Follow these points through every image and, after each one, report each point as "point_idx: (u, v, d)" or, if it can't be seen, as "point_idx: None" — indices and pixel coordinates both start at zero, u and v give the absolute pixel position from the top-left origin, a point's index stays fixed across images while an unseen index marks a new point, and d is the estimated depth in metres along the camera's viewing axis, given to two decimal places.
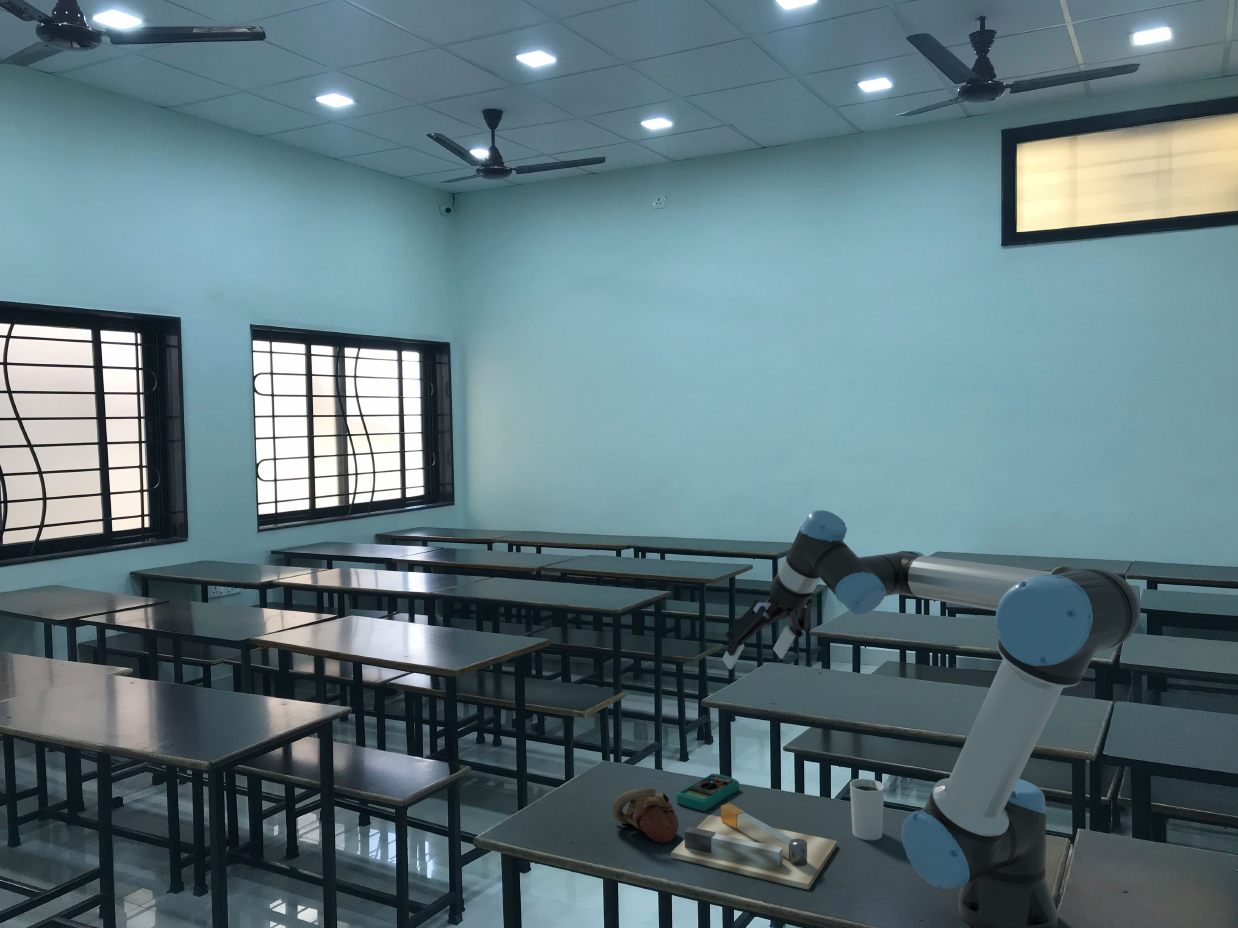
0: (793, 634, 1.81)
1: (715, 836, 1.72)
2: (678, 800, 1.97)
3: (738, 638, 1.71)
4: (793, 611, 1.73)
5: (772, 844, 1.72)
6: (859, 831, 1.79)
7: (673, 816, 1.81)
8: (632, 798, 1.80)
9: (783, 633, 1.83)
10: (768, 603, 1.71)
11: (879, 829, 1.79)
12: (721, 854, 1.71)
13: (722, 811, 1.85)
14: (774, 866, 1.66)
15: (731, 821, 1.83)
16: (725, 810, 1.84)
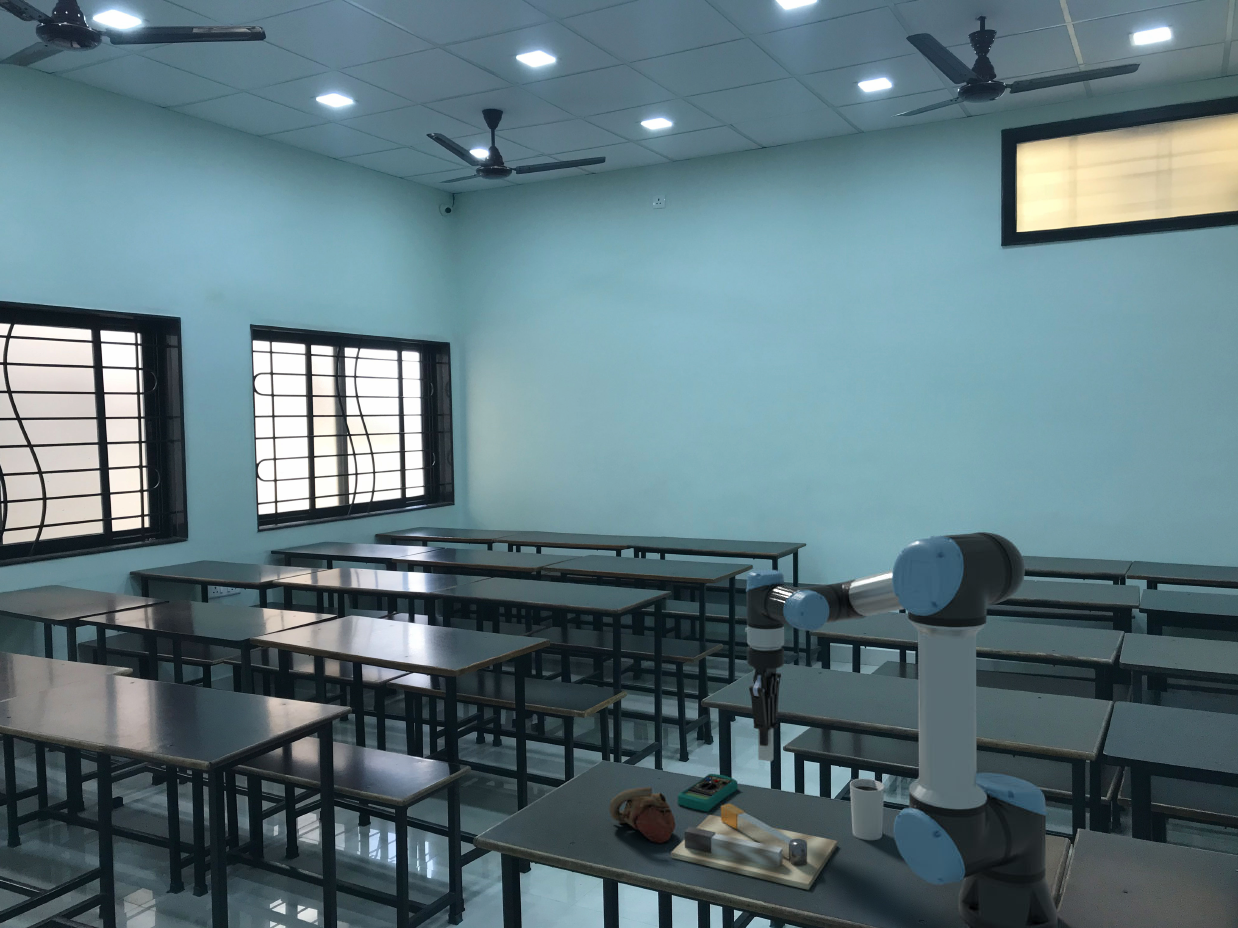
0: (770, 728, 1.84)
1: (715, 836, 1.72)
2: (679, 801, 1.97)
3: (765, 721, 1.81)
4: (777, 676, 1.84)
5: (772, 844, 1.72)
6: (859, 831, 1.79)
7: (670, 816, 1.81)
8: (629, 798, 1.81)
9: None
10: (758, 679, 1.80)
11: (879, 829, 1.79)
12: (721, 854, 1.71)
13: (722, 811, 1.85)
14: (774, 866, 1.66)
15: (731, 821, 1.83)
16: (725, 810, 1.84)
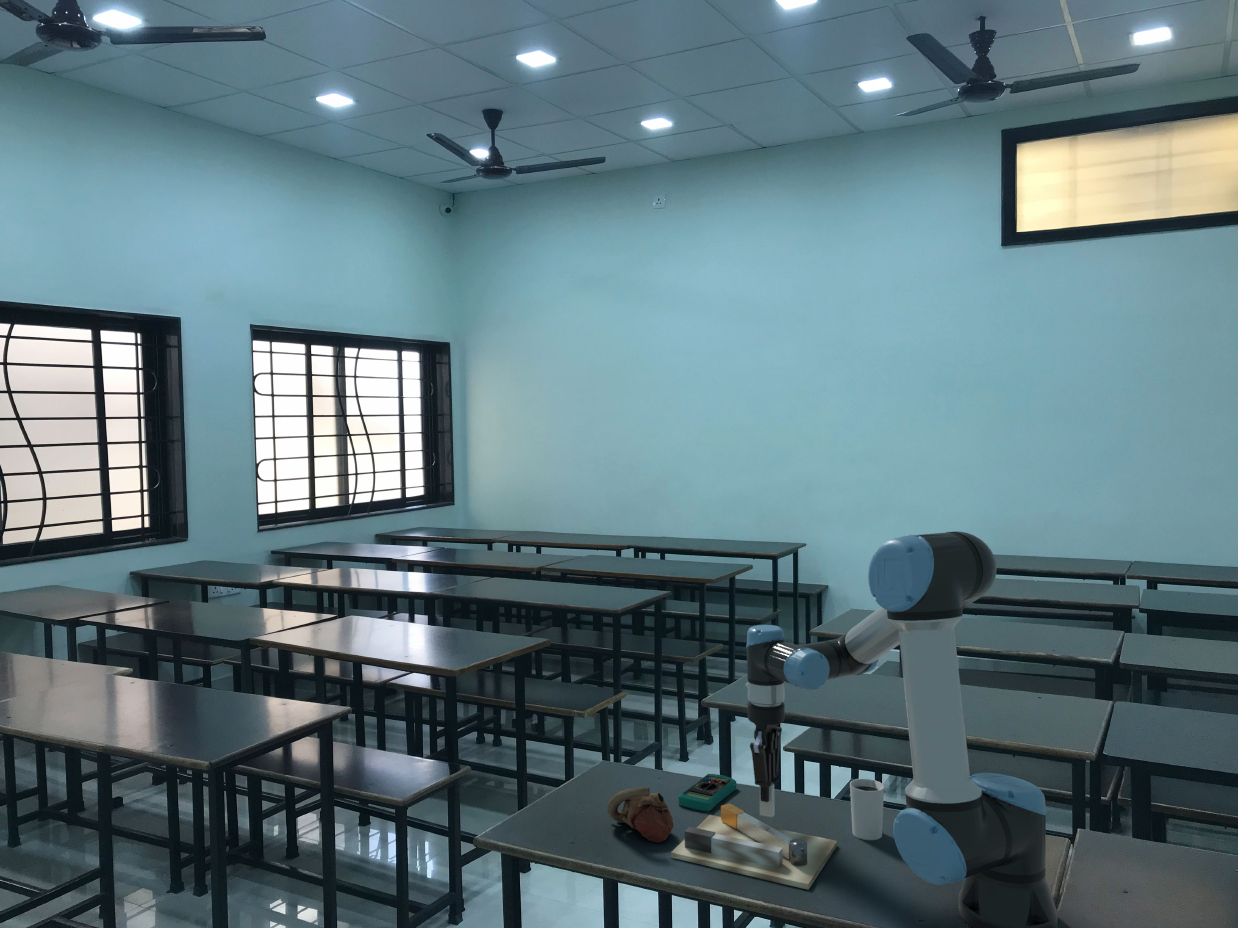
0: (771, 783, 1.84)
1: (715, 836, 1.72)
2: (680, 802, 1.96)
3: (766, 778, 1.81)
4: (777, 731, 1.85)
5: (772, 844, 1.72)
6: (859, 831, 1.79)
7: (668, 816, 1.81)
8: (627, 797, 1.81)
9: None
10: (758, 736, 1.81)
11: (879, 829, 1.79)
12: (721, 854, 1.71)
13: (722, 811, 1.85)
14: (774, 866, 1.66)
15: (731, 821, 1.83)
16: (725, 810, 1.84)
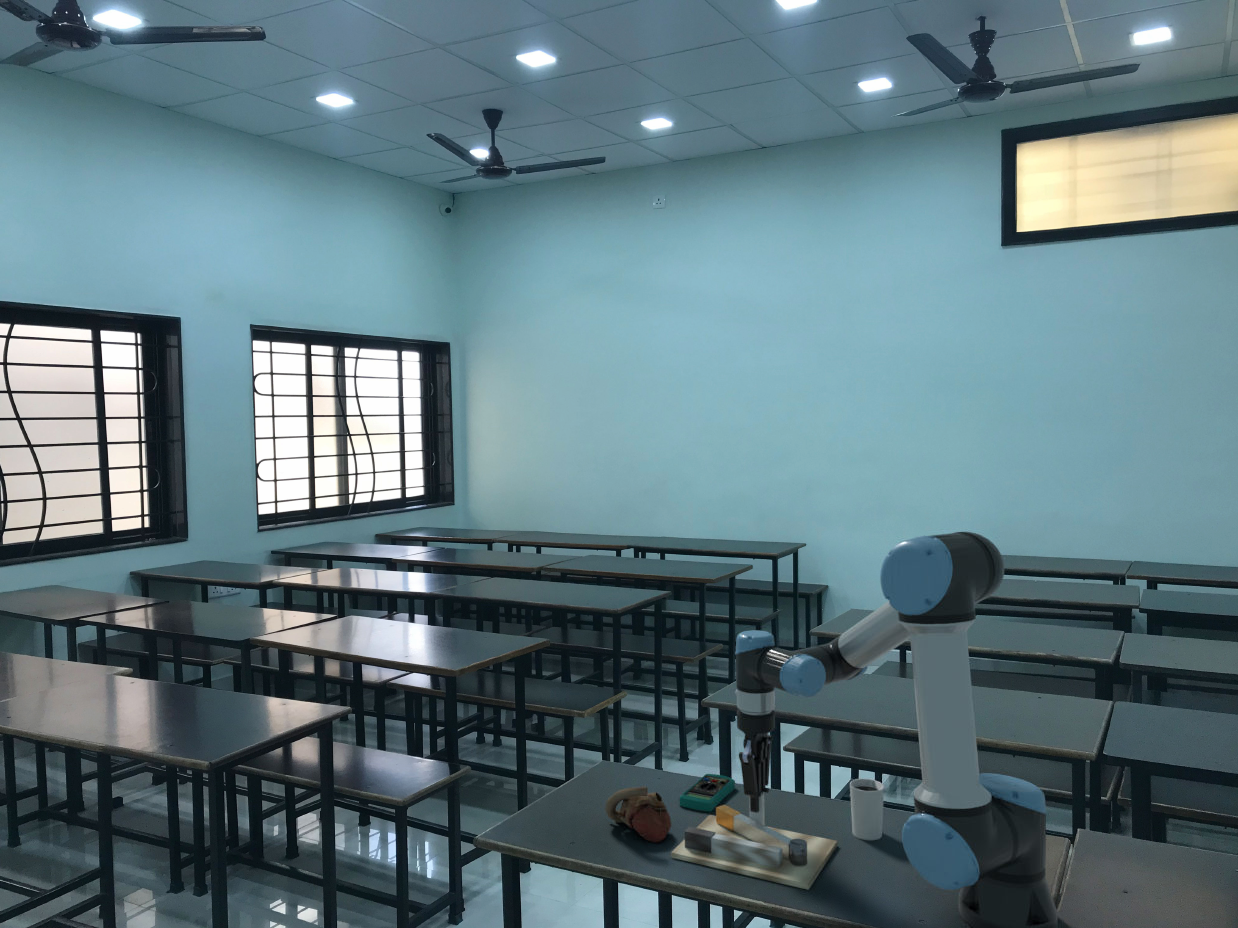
0: (761, 793, 1.79)
1: (715, 836, 1.72)
2: (681, 803, 1.96)
3: (756, 788, 1.76)
4: (767, 740, 1.79)
5: None
6: (859, 831, 1.79)
7: (665, 815, 1.81)
8: (624, 797, 1.81)
9: None
10: (747, 745, 1.75)
11: (879, 829, 1.79)
12: (721, 854, 1.71)
13: (717, 813, 1.84)
14: (774, 866, 1.66)
15: (727, 823, 1.82)
16: (720, 812, 1.83)
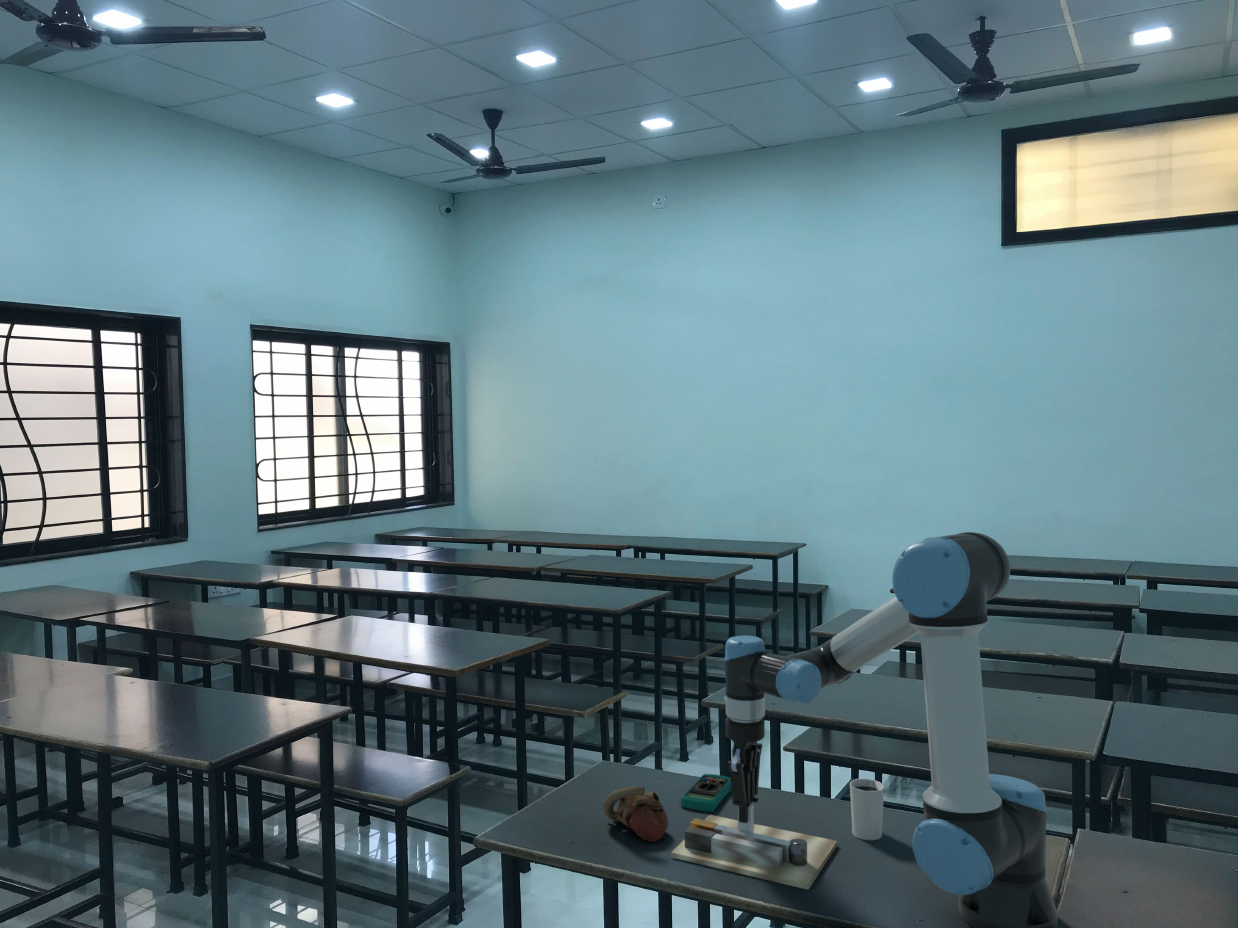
0: (750, 803, 1.74)
1: (715, 836, 1.72)
2: (683, 804, 1.95)
3: (745, 798, 1.71)
4: (757, 748, 1.74)
5: None
6: (859, 831, 1.79)
7: (663, 815, 1.82)
8: (622, 796, 1.81)
9: None
10: (736, 753, 1.70)
11: (879, 829, 1.79)
12: (721, 854, 1.71)
13: None
14: (774, 866, 1.66)
15: None
16: (696, 826, 1.77)
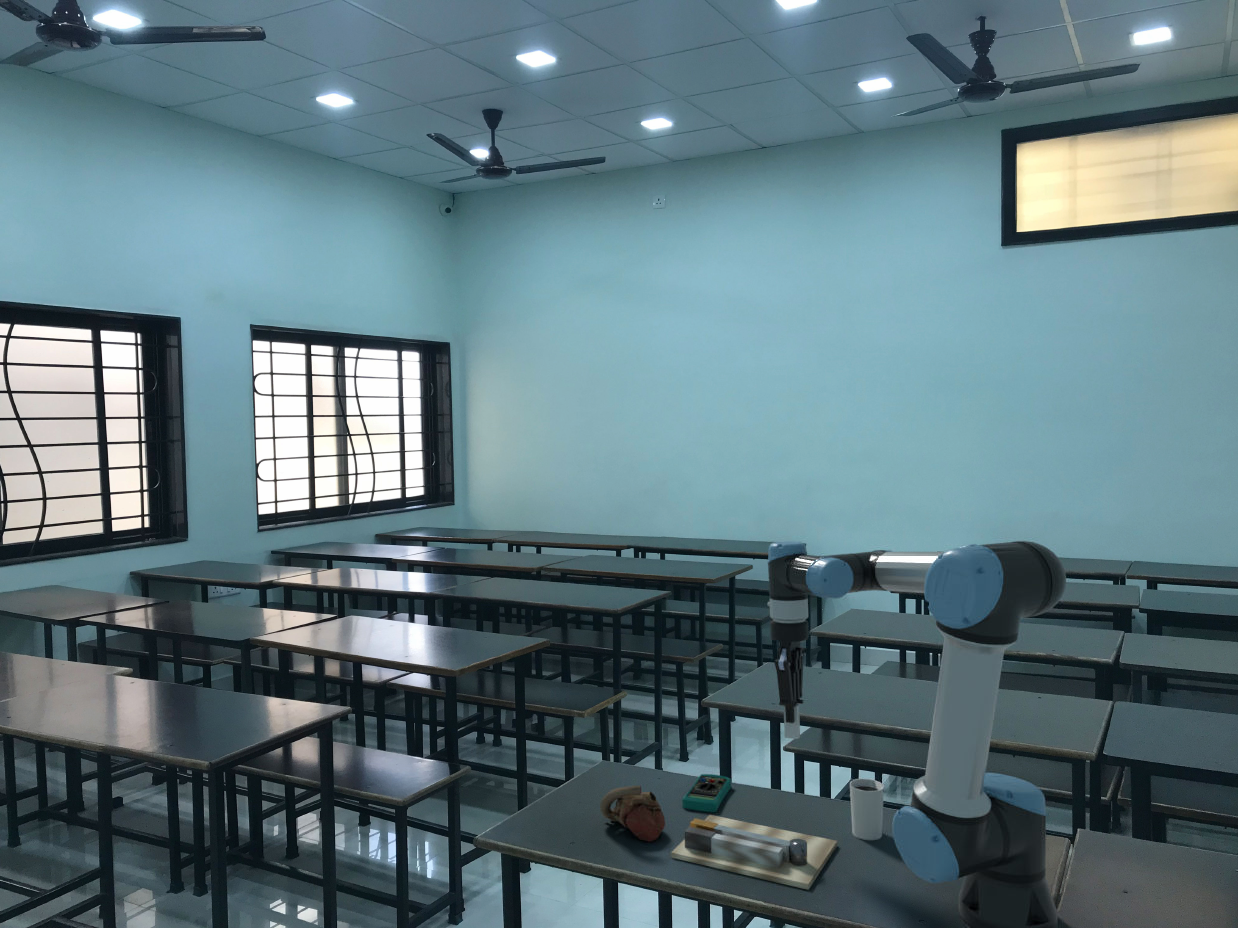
0: (796, 704, 1.79)
1: (715, 836, 1.72)
2: (684, 804, 1.95)
3: (792, 697, 1.75)
4: (801, 650, 1.79)
5: None
6: (859, 831, 1.79)
7: (659, 815, 1.82)
8: (618, 796, 1.82)
9: None
10: (783, 653, 1.75)
11: (879, 829, 1.79)
12: (721, 854, 1.71)
13: None
14: (774, 866, 1.66)
15: None
16: (696, 826, 1.77)
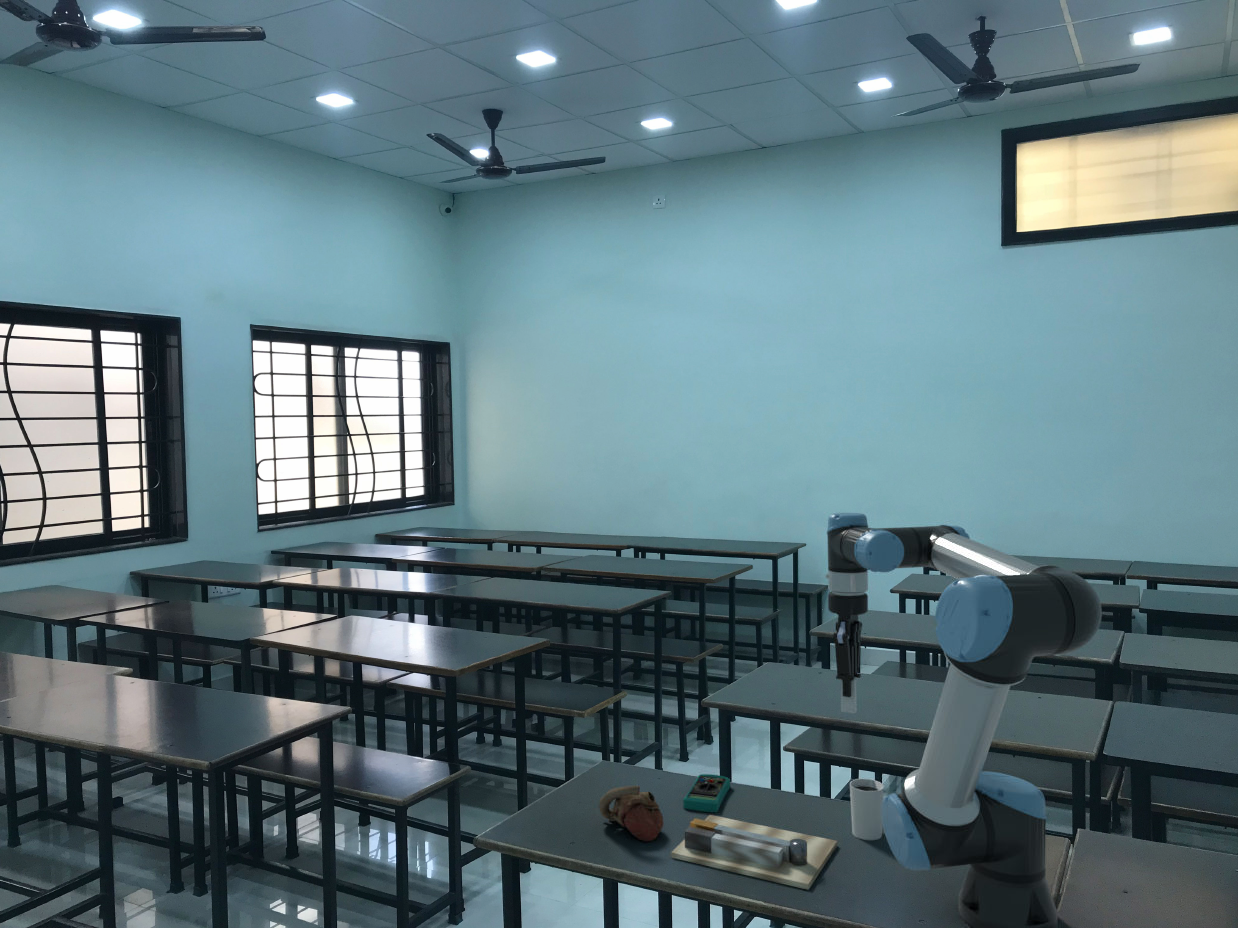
0: (853, 678, 1.76)
1: (715, 836, 1.72)
2: (685, 805, 1.94)
3: (850, 670, 1.72)
4: (859, 623, 1.76)
5: None
6: (859, 831, 1.79)
7: (658, 815, 1.82)
8: (617, 796, 1.82)
9: None
10: (841, 626, 1.72)
11: (879, 829, 1.79)
12: (721, 854, 1.71)
13: None
14: (774, 866, 1.66)
15: None
16: (696, 826, 1.77)
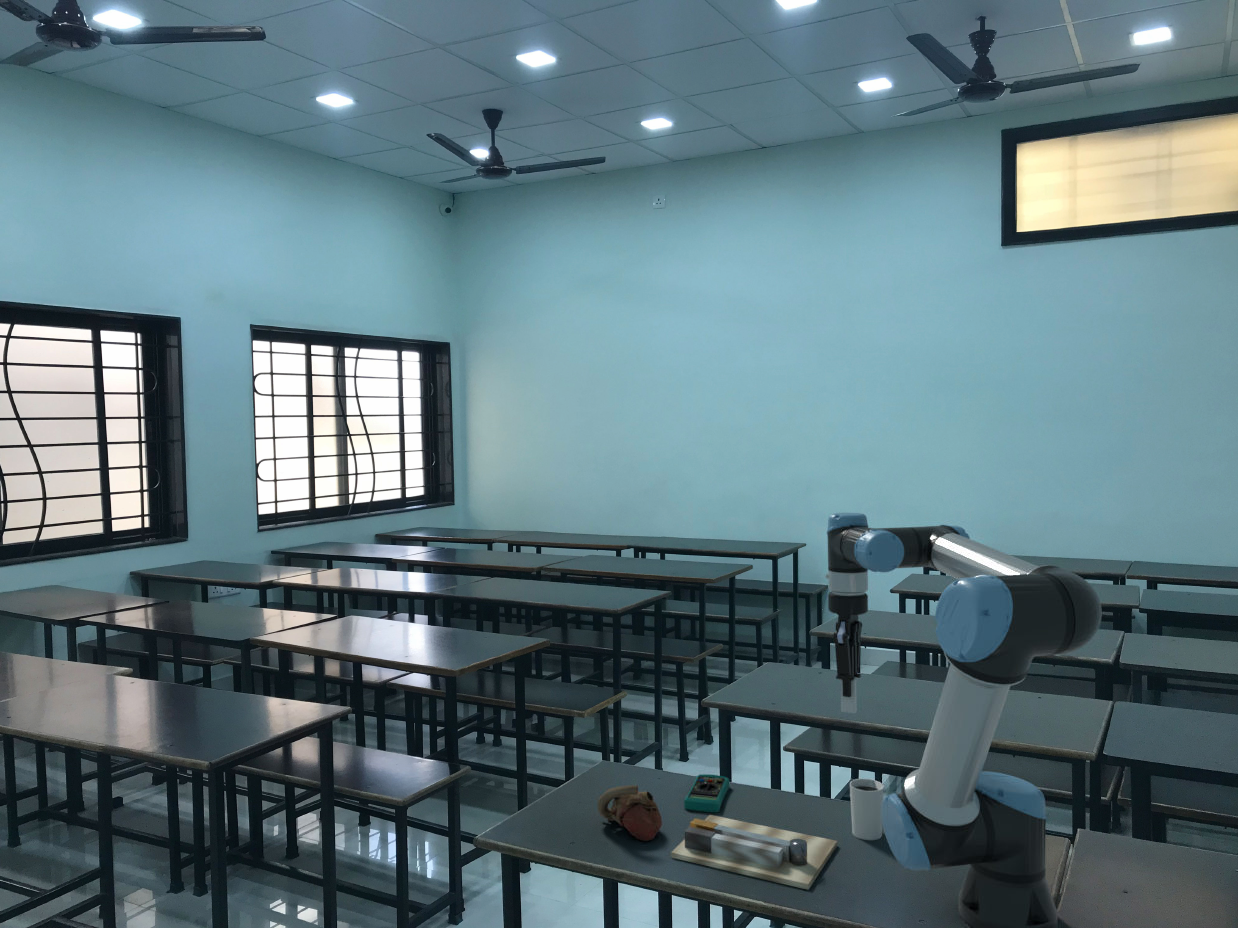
0: (853, 678, 1.76)
1: (715, 836, 1.72)
2: (686, 805, 1.94)
3: (850, 670, 1.72)
4: (860, 623, 1.76)
5: None
6: (859, 831, 1.79)
7: (656, 814, 1.82)
8: (615, 795, 1.82)
9: None
10: (841, 626, 1.72)
11: (879, 829, 1.79)
12: (721, 854, 1.71)
13: None
14: (774, 866, 1.66)
15: None
16: (696, 826, 1.77)
